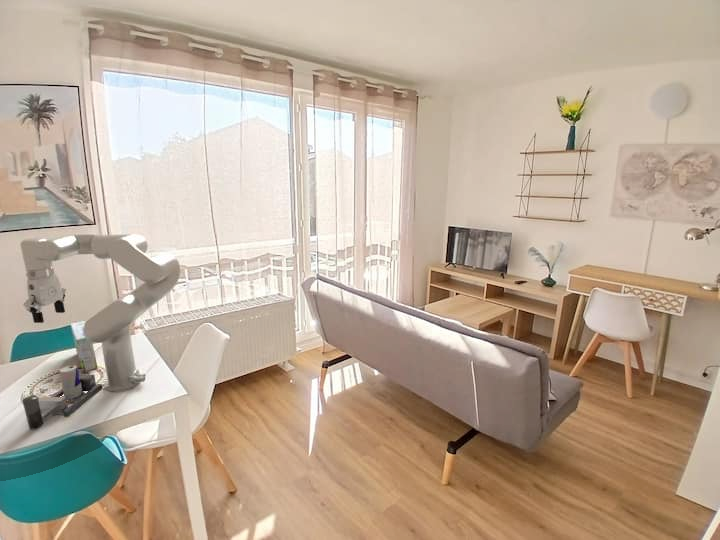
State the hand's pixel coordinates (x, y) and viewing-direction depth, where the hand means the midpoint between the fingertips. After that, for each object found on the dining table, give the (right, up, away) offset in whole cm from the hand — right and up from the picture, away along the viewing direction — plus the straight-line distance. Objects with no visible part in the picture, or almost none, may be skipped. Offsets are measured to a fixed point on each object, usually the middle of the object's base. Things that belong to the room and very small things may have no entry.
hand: (50, 317), depth 140 cm
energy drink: (+9, -30, -1) cm, 31 cm away
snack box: (-5, -23, +26) cm, 35 cm away
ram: (+9, -32, -13) cm, 36 cm away
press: (+9, -30, -3) cm, 32 cm away
